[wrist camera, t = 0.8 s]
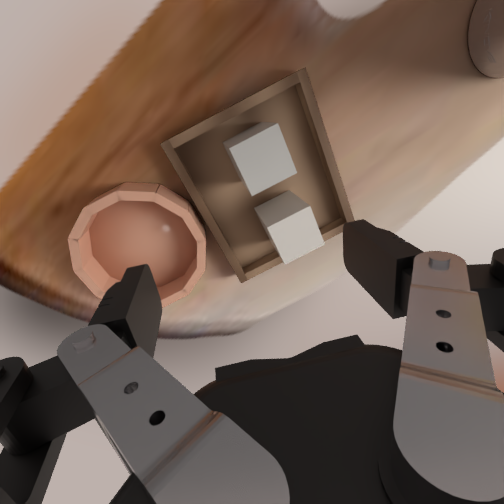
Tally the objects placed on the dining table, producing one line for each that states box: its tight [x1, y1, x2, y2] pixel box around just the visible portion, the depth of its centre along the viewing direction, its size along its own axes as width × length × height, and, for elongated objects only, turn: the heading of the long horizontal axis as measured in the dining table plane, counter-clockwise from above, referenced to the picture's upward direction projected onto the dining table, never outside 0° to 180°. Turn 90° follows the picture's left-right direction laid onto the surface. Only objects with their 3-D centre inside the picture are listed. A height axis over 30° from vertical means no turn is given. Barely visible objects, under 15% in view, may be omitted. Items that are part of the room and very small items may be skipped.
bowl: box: [68, 182, 206, 308], centre depth 29 cm, size 12×12×4 cm
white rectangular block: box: [254, 190, 325, 265], centre depth 29 cm, size 4×4×6 cm
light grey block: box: [222, 122, 297, 196], centre depth 26 cm, size 4×4×6 cm
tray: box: [160, 68, 355, 283], centre depth 29 cm, size 14×16×2 cm
